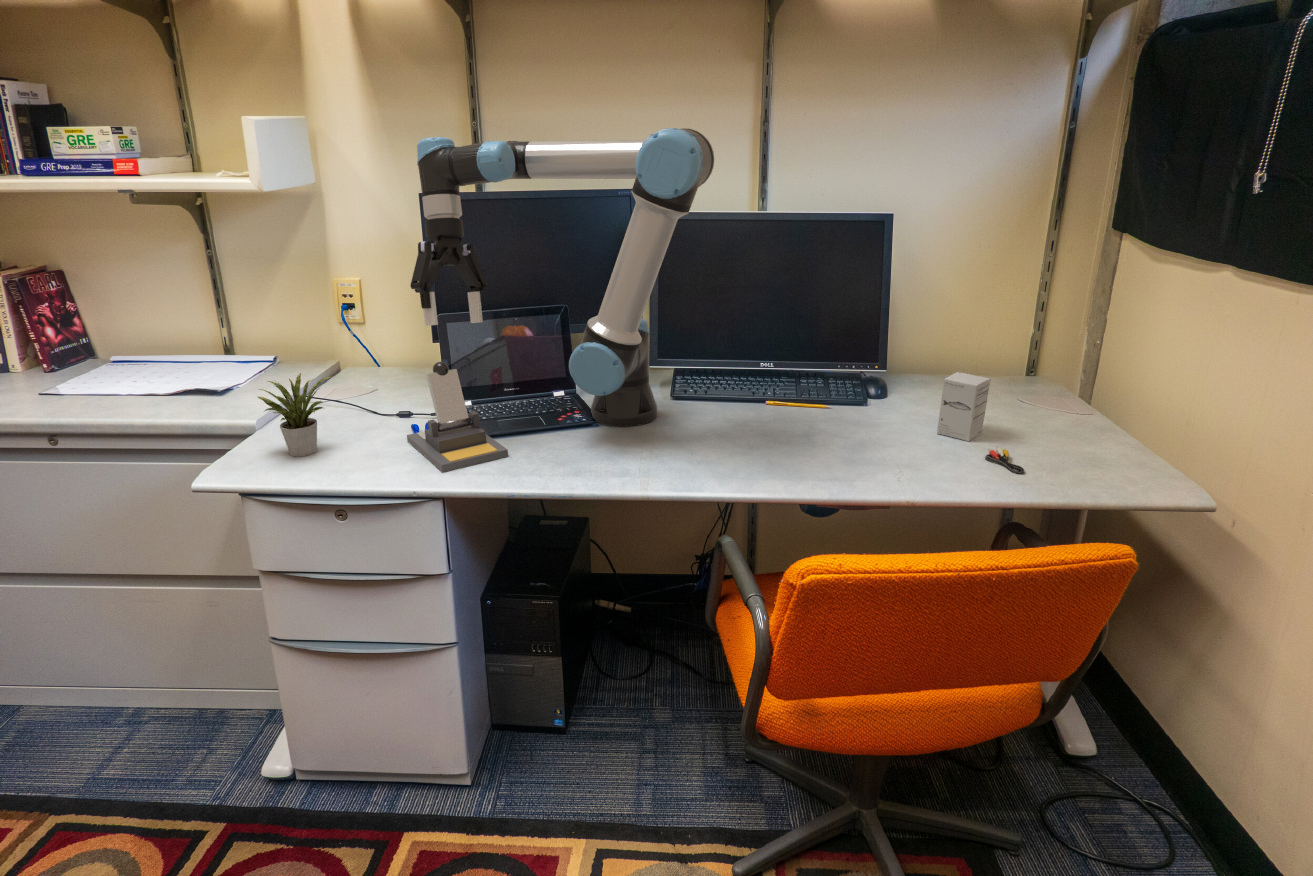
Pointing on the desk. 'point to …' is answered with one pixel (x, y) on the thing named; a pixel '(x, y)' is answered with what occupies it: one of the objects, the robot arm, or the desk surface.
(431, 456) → the switch unit
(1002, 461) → the composite cable
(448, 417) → the toggle lever
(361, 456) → the desk surface
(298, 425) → the house plant
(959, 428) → the supplement box
